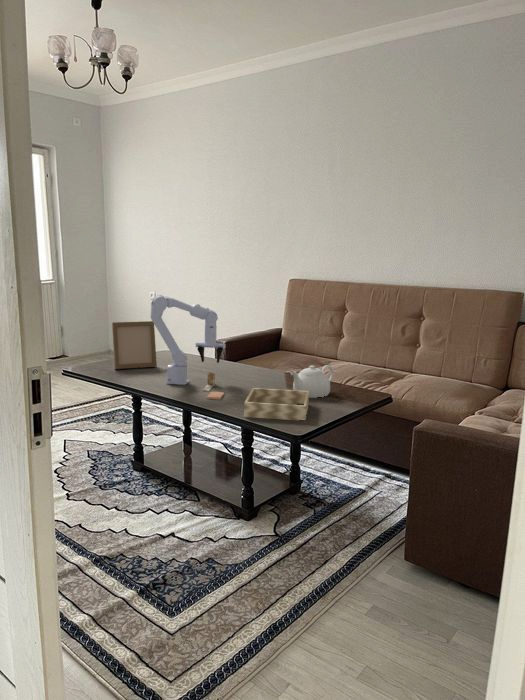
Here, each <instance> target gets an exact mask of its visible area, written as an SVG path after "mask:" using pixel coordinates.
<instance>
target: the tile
mask: <svg viewBox="0 0 525 700" xmlns="http://www.w3.org/2000/svg"><path fill="white" fill-rule="evenodd" d="M224 395H225V393H224V392H222V391H209V394H208V395H207V397H206V399H207V400H218V401H219V400H220V401H221V399H222V398H223V396H224Z"/></svg>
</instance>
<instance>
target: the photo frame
mask: <svg viewBox="0 0 525 700" xmlns="http://www.w3.org/2000/svg"><path fill="white" fill-rule="evenodd" d="M111 326H112V327H111V329H112V343H113V356H114V357H113V360H114V370H121V369H136V368H138V367H139V368H151V367H152V368H154V367H157V365H158V364H157V362H158V361H157V350H156V349H157V348H156V333H155V324H154V323H153V321H152V320H151V321H150V320H149V321H124V322H123V321H116V322H112V323H111Z"/></svg>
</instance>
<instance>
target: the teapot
mask: <svg viewBox="0 0 525 700" xmlns="http://www.w3.org/2000/svg"><path fill="white" fill-rule="evenodd" d="M326 368H328V369H329V370H330V376H329V378H328V376H327V375H326V373H325V370H326ZM334 375H335V373H334V369H333V368H332V366H330V365H328V364H326V365H323V366H322V368H321V369H320V368H318V367H316V366H315V365H309V367H306V368H304V369H301V370H300V371H299V373H298V372H297V371H291V372H290V376H293V384H292V390H297V391H309V399H318V398H317V397H322V398H325V397H327V396H328V395H329V394H330V392H331V381H332V380H333V378H334ZM324 396H325V397H324Z"/></svg>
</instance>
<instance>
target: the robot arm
mask: <svg viewBox="0 0 525 700" xmlns="http://www.w3.org/2000/svg"><path fill="white" fill-rule="evenodd" d="M167 308H168V309H169V308H170V309H171V308H177V309H180V310H182V311H185V312H189V315H190V316H192V317H195V318H198V319H199V320H204V322H205V323H204V342H196V343H195V348H196V349H197V352H198V353H199V356H200V358H201V359H200V360H201V363H204V362H205V348H212V349H216V363H218V364H219V362H220V359H221V355H222V353H223V351H224V349H226V343H218V342H217V321H218V319H219V317H218V314H217V313H216V311H214V310H212V309H210V308H209V307H203V306H201V304H199V303H197V304H196V303H195V304H192V305H190V304H188V303H185V302H183V301H180V300H178V299H176V298H174V297H170V296H164V295H162V294H157V295H155V296H154V297H153V299H152V300H151V303H150V320H151V321H153V323H154V327H155V328H156V330H157V331H158V333H159V334H160V336H161V338H162V339H163V341H164V343H165V344H166V345H165V346H167V349H168V350H169V352H170V353H171V357H172V360H173V362H172V363H171V364H168V365H167V368H166V384H167V385H182V386H183V385H184V386H186V385H187V384H188V383H189V382H190V379H188V357H187V355H186V354H185V352H184V351H183V350H182V349H181V348H180V347H179V345H178V344H177V342H176V341H175V338H174V337H173V335H172V333H171V332H170V330H169V328H168V327H167V325H166V323H165V322H164V320H163V318H162V317H163V314H164V312H165V310H166V309H167Z"/></svg>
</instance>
